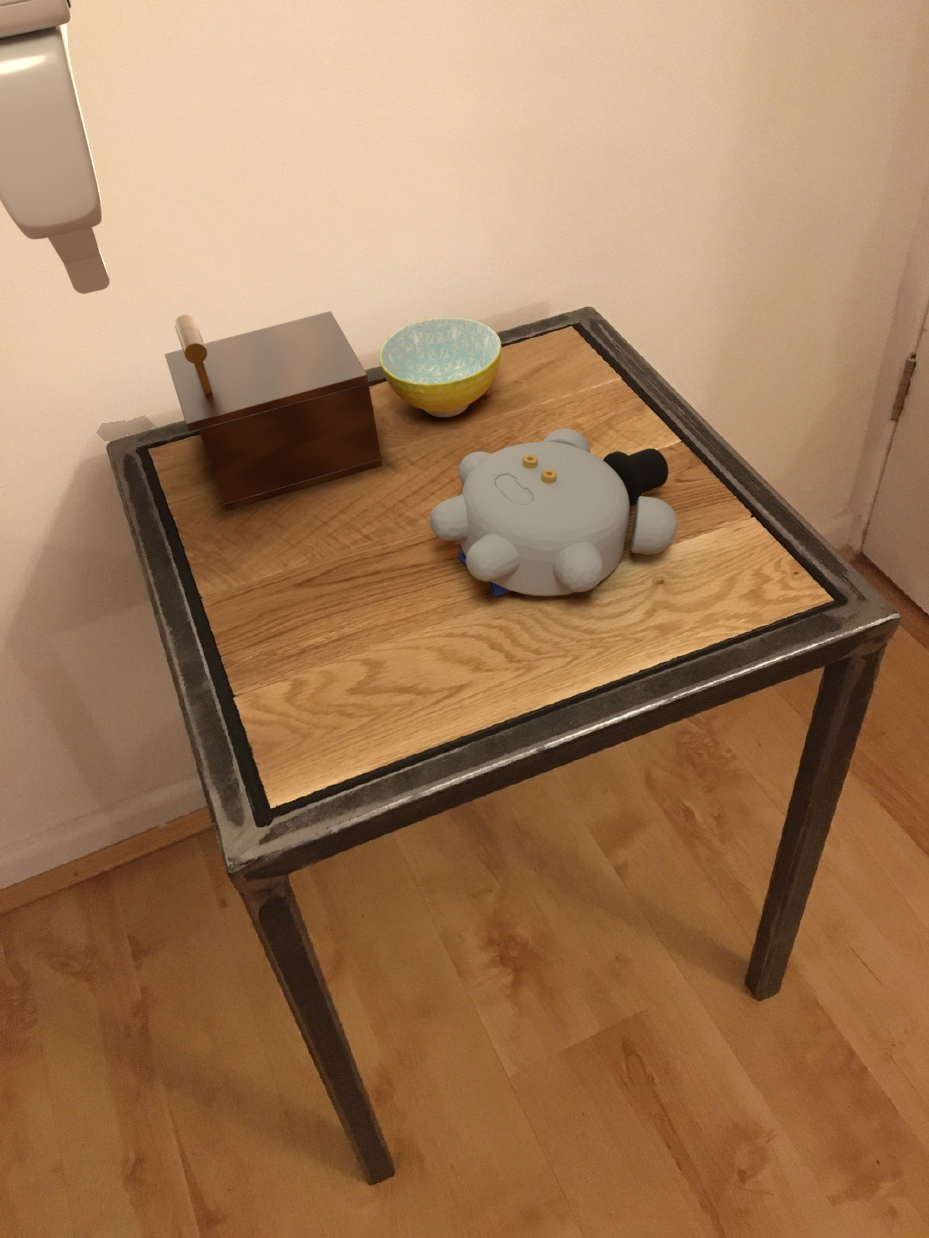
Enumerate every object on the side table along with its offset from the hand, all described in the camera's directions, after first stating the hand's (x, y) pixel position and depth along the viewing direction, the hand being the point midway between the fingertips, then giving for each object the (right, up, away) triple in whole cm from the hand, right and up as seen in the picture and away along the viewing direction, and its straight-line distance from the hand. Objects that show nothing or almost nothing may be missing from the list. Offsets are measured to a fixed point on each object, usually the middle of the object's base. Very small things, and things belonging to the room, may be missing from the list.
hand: (84, 247), depth 52 cm
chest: (+4, -5, +38) cm, 38 cm away
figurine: (+29, -14, +27) cm, 42 cm away
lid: (+3, +1, +31) cm, 31 cm away
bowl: (+19, +1, +41) cm, 46 cm away
